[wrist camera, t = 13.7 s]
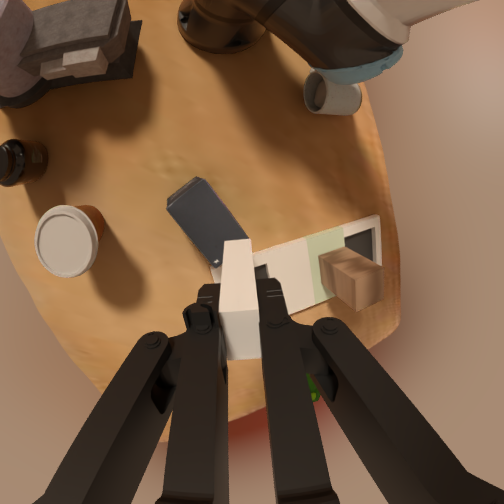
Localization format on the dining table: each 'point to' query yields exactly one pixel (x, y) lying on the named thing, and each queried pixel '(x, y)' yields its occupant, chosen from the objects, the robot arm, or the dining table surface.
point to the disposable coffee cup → (69, 239)
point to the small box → (204, 219)
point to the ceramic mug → (330, 96)
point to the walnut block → (352, 277)
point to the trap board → (313, 260)
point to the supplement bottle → (21, 162)
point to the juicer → (63, 46)
